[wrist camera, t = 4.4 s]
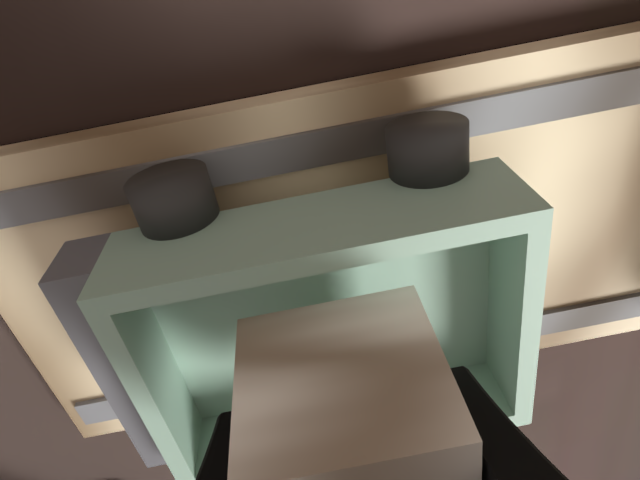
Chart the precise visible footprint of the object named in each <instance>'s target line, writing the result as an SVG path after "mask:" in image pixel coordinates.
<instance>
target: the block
mask: <svg viewBox="0 0 640 480" xmlns="http://www.w3.org/2000/svg"><path fill="white" fill-rule="evenodd" d="M482 446H483V442H482V439H481V437H480V435H479V432H478V430H477V428H476V426H475V423H474V421H473V419H472V416H471V414H470V412H469V410H468V407H467V405H466V403H465V400H464V398H463V396H462V394H461V391H460V389H459V387H458V385H457V382H456V380H455V378H454V375H453V373H452V371H451V369H450V366H449V364H448V362H447V359H446V357H445V355H444V353H443V350H442V348H441V346H440V343H439V341H438V339H437V337H436V334H435V332H434V330H433V327H432V325H431V323H430V321H429V318H428V316H427V314H426V311H425V309H424V307H423V305H422V302H421V300H420V298H419V296H418V293H417V291H416V289H415V286H414V285H412V286H406V287H401V288H396V289H391V290H386V291H381V292H376V293H371V294H365V295H360V296H355V297H350V298H345V299H340V300H335V301H330V302H324V303H319V304H314V305H309V306H304V307H299V308H294V309H289V310H283V311H278V312H273V313H268V314H263V315H258V316H253V317H247V318H242V319H237V333H236V348H235V364H234V380H233V396H232V412H231V427H230V443H229V459H228V475H227V480H482Z"/></svg>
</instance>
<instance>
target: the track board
mask: <svg viewBox="0 0 640 480" xmlns="http://www.w3.org/2000/svg"><path fill="white" fill-rule="evenodd" d="M423 111H451V112H456V113H460V114H462V115H464V116H466V117H467V118H468V119H469V154H470V162H474V161H479V160H484V159H489V158H494V157H499V158H500V159H501V160H502V161H503V162H504V163H505V164H506V165H507V166H509V167H510V168H511V169H512V170H513V171H514V172H515V173H516V174H517V175H518V176H519V177H520V178H522V179H523V180H524V181H525V182H526V183H527V184H528V185H529V186H530V187H531V188H532V189H533V190H535V191H536V192H537V193H538V194H539V195H540V196H541V197H542V198H543V199H544V200H545V201H547V202H548V203H549V204H550V205H551V206H552V207H553V208H554V211H553V220H552V230H551V239H550V249H549V259H548V268H547V278H546V287H545V297H544V307H543V316H542V326H541V335H540V345H539V349H542V348H547V347H552V346H557V345H562V344H567V343H572V342H577V341H582V340H588V339H593V338H598V337H603V336H608V335H613V334H618V333H623V332H628V331H633V330H639V329H640V21H637V22H632V23H627V24H622V25H617V26H611V27H606V28H601V29H596V30H591V31H586V32H581V33H576V34H571V35H566V36H560V37H555V38H550V39H545V40H540V41H535V42H530V43H525V44H520V45H514V46H509V47H504V48H499V49H494V50H489V51H484V52H479V53H474V54H469V55H463V56H458V57H453V58H448V59H443V60H438V61H433V62H428V63H423V64H417V65H412V66H407V67H402V68H397V69H392V70H387V71H382V72H377V73H371V74H366V75H361V76H356V77H351V78H346V79H341V80H336V81H331V82H326V83H320V84H315V85H310V86H305V87H300V88H295V89H290V90H285V91H280V92H274V93H269V94H264V95H259V96H254V97H249V98H244V99H239V100H234V101H229V102H223V103H218V104H213V105H208V106H203V107H198V108H193V109H188V110H183V111H177V112H172V113H167V114H162V115H157V116H152V117H147V118H142V119H137V120H132V121H126V122H121V123H116V124H111V125H106V126H101V127H96V128H91V129H86V130H80V131H75V132H70V133H65V134H60V135H55V136H50V137H45V138H40V139H35V140H29V141H24V142H19V143H14V144H9V145H4V146H0V314H1V316H2V317H3V319H4V320H5V322H6V323H7V325H8V326H9V328H10V329H11V331H12V332H13V334H14V335H15V336H16V338H17V339H18V341H19V342H20V344H21V345H22V347H23V348H24V350H25V351H26V353H27V354H28V356H29V357H30V359H31V360H32V362H33V363H34V365H35V366H36V367H37V369H38V370H39V372H40V373H41V375H42V376H43V378H44V379H45V381H46V382H47V384H48V385H49V387H50V388H51V390H52V391H53V393H54V394H55V396H56V397H57V398H58V400H59V401H60V403H61V404H62V406H63V407H64V409H65V410H66V412H67V413H68V415H69V416H70V418H71V419H72V421H73V422H74V424H75V425H76V426H77V428H78V429H79V431H80V432H81V434H82V435H83V437H84V438H87V437H92V436H97V435H103V434H108V433H113V432H118V431H123V430H125V429H124V428H123V426H122V424H121V422H120V421H119V419H118V417H117V416H116V414H115V412H114V411H113V409H112V407H111V406H110V404H109V402H108V401H107V399H106V397H105V396H104V394H103V392H102V391H101V389H100V387H99V386H98V384H97V382H96V381H95V379H94V377H93V376H92V374H91V372H90V371H89V369H88V367H87V366H86V364H85V362H84V361H83V359H82V357H81V356H80V354H79V352H78V351H77V349H76V347H75V346H74V344H73V342H72V341H71V339H70V337H69V336H68V334H67V332H66V330H65V329H64V327H63V325H62V324H61V322H60V320H59V319H58V317H57V315H56V314H55V312H54V310H53V309H52V307H51V305H50V304H49V302H48V300H47V299H46V297H45V295H44V294H43V292H42V290H41V289H40V287H39V285H38V283H39V281H40V279H41V278H42V276H43V275H44V273H45V272H46V270H47V269H48V267H49V266H50V264H51V262H52V261H53V259H54V258H55V256H56V255H57V253H58V252H59V250H60V249H61V247H62V245H63V244H64V242H65V241H70V240H76V239H81V238H86V237H91V236H96V235H101V234H106V233H111V232H116V231H122V230H127V229H132V228H137V227H139V225H138V223H137V220H136V218H135V215H134V213H133V211H132V208H131V206H130V204H129V201H128V199H127V197H126V194H125V192H124V189H123V188H124V185H125V183H126V182H127V181H128V179H130V178H131V177H132V176H134V175H135V174H137V173H138V172H140V171H142V170H144V169H146V168H148V167H151V166H154V165H156V164H159V163H163V162H167V161H171V160H177V159H198V160H201V161H203V162H204V163H205V164H206V167H207V170H208V173H209V176H210V180H211V183H212V186H213V189H214V192H215V195H216V199H217V202H218V205H219V208H220V211H224V210H229V209H234V208H239V207H244V206H249V205H254V204H259V203H264V202H270V201H275V200H280V199H285V198H290V197H295V196H300V195H305V194H310V193H316V192H321V191H326V190H331V189H336V188H341V187H346V186H351V185H356V184H361V183H367V182H372V181H377V180H382V179H387V178H390V177H389V172H388V161H387V151H386V141H385V130H384V129H385V127H386V125H387V124H388V123H389V122H391V121H392V120H394V119H396V118H399V117H401V116H404V115H408V114H411V113H416V112H423Z"/></svg>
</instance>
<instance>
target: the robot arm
mask: <svg viewBox="0 0 640 480" xmlns="http://www.w3.org/2000/svg"><path fill="white" fill-rule="evenodd" d="M450 369H451V371H452V373H453V375H454V378H455V380H456V382H457V385H458V387H459V389H460V391H461V394H462V396H463V398H464V400H465V403H466V405H467V407H468V410H469V412H470V414H471V416H472V419H473V421H474V423H475V426H476V428H477V430H478V432H479V435H480V437H481V439H482V442H483V446H482V480H569V479H567V478H566V477H565V476H564V475H563V474H562V473H561V472H560V471H559V470H558V469H557V468H556V467H555V466H554V465H553V464H552V463H551V462H550V461H549V460H548V459H547V458H546V457H545V456H544V455H543V454H542V453H541V452H540V451H539V450H538V449H537V447H536V446H535V445H534V444H533V443H532V442H531V441H530V440H529V439H528V438H527V437H526V436H525V435H524V434H523V433H522V432H521V431H520V430H519V429H518V427H517V426H516V425H515V424H514V423H513V422H512V421H511V420H510V419H509V418H508V416H507V415H506V414H505V413H504V412H503V411H502V410H501V408H500V407H499V406H498V405H497V404H496V403H495V402H494V400H493V399H492V398H491V397H490V396H489V395H488V393H487V392H486V391H485V390H484V388H483V387H482V386H481V385H480V383H479V382H478V381H477V380H476V378H475V377H474V376H473V375H472V373H471V372H470V371H469V369H468V368H466V367H464V366H459V367H454V368H450ZM231 412H232V411H228V412H223V413H221V414H220V415H219V416H218V417H217V421H216V424H215V427H214V430H213V433H212V436H211V439H210V442H209V445H208V447H207V450H206V453H205V456H204V458H203V461H202V464H201V466H200V469H199V471H198V474H197V477H196V479H195V480H227V475H228V459H229V443H230V427H231Z"/></svg>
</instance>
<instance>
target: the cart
mask: <svg viewBox="0 0 640 480" xmlns="http://www.w3.org/2000/svg"><path fill="white" fill-rule="evenodd" d="M384 130H385V141H386V151H387V161H388V172H389V177H390V178H387V179H382V180H377V181H372V182H367V183H361V184H356V185H351V186H346V187H341V188H336V189H331V190H326V191H321V192H316V193H310V194H305V195H300V196H295V197H290V198H285V199H280V200H275V201H270V202H264V203H259V204H254V205H249V206H244V207H239V208H234V209H229V210H224V211H220V208H219V205H218V202H217V199H216V195H215V192H214V189H213V186H212V183H211V180H210V176H209V173H208V170H207V167H206V164H205V163H204V162H203V161H201V160H198V159H177V160H171V161H167V162H163V163H159V164H156V165H154V166H151V167H148V168H146V169H144V170H142V171H140V172H138V173H137V174H135V175H134V176H132V177H131V178H130V179H128V181H127V182H126V183H125V185H124V188H123V189H124V192H125V194H126V197H127V199H128V201H129V204H130V206H131V208H132V211H133V213H134V215H135V218H136V220H137V223H138V225H139V227H137V228H132V229H127V230H122V231H116V232H111V233H106V234H101V235H96V236H91V237H86V238H81V239H76V240H70V241H65V242H64V244H63V245H62V247H61V249H60V250H59V252H58V253H57V255H56V256H55V258H54V259H53V261H52V262H51V264H50V266H49V267H48V269H47V270H46V272H45V273H44V275H43V276H42V278H41V279H40V281H39V283H38V285H39V287H40V289H41V290H42V292H43V294H44V295H45V297H46V299H47V300H48V302H49V304H50V305H51V307H52V309H53V310H54V312H55V314H56V315H57V317H58V319H59V320H60V322H61V324H62V325H63V327H64V329H65V330H66V332H67V334H68V336H69V337H70V339H71V341H72V342H73V344H74V346H75V347H76V349H77V351H78V352H79V354H80V356H81V357H82V359H83V361H84V362H85V364H86V366H87V367H88V369H89V371H90V372H91V374H92V376H93V377H94V379H95V381H96V382H97V384H98V386H99V387H100V389H101V391H102V392H103V394H104V396H105V397H106V399H107V401H108V402H109V404H110V406H111V407H112V409H113V411H114V412H115V414H116V416H117V417H118V419H119V421H120V422H121V424H122V426H123V428H124V429H125V431H126V433H127V434H128V436H129V438H130V439H131V441H132V443H133V444H134V446H135V448H136V449H137V451H138V453H139V454H140V456H141V458H142V459H143V461H144V463H145V464H146V466H147V468H149V467H154V466H159V465H164V464H167V465H168V467H169V469H170V471H171V472H172V474H173V476H174V478H175V480H195V479H196V477H197V474H198V471H199V469H200V466H201V464H202V461H203V458H204V456H205V453H206V450H207V447H208V445H209V442H210V439H211V436H212V433H213V430H214V427H215V424H216V421H217V417H218V416H219V415H220V414H221V413H223V412H228V411H232V396H233V380H234V364H235V348H236V333H237V319H242V318H247V317H253V316H258V315H263V314H268V313H273V312H278V311H283V310H289V309H294V308H299V307H304V306H309V305H314V304H319V303H324V302H330V301H335V300H340V299H345V298H350V297H355V296H360V295H365V294H371V293H376V292H381V291H386V290H391V289H396V288H401V287H406V286H412V285H414V286H415V289H416V291H417V293H418V296H419V298H420V300H421V302H422V305H423V307H424V309H425V311H426V314H427V316H428V318H429V321H430V323H431V325H432V327H433V330H434V332H435V334H436V337H437V339H438V341H439V343H440V346H441V348H442V350H443V353H444V355H445V357H446V359H447V362H448V364H449V366H450V368H454V367H459V366H464V367H466V368H468V369H469V371H470V372H471V373H472V375H473V376H474V377H475V378H476V380H477V381H478V382H479V383H480V385H481V386H482V387H483V388H484V390H485V391H486V392H487V393H488V395H489V396H490V397H491V398H492V399H493V400H494V402H495V403H496V404H497V405H498V406H499V407H500V408H501V410H502V411H503V412H504V413H505V414H506V415H507V416H508V418H509V419H510V420H511V421H512V422H513V423H514V424H515V425H516V426H522V425H527V424H531V422H532V412H533V402H534V393H535V383H536V374H537V364H538V354H539V345H540V335H541V326H542V316H543V307H544V297H545V287H546V278H547V268H548V259H549V249H550V239H551V230H552V220H553V211H554V208H553V207H552V206H551V205H550V204H549V203H548V202H547V201H545V200H544V199H543V198H542V197H541V196H540V195H539V194H538V193H537V192H536V191H535V190H533V189H532V188H531V187H530V186H529V185H528V184H527V183H526V182H525V181H524V180H523V179H522V178H520V177H519V176H518V175H517V174H516V173H515V172H514V171H513V170H512V169H511V168H510V167H509V166H507V165H506V164H505V163H504V162H503V161H502V160H501V159H500V158H499V157H494V158H489V159H484V160H479V161H474V162H470V154H469V119H468V118H467V117H466V116H464V115H462V114H460V113H456V112H451V111H423V112H416V113H411V114H408V115H404V116H401V117H399V118H396V119H394V120H392V121H391V122H389V123H388V124H387V125H386V127H385V129H384Z"/></svg>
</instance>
